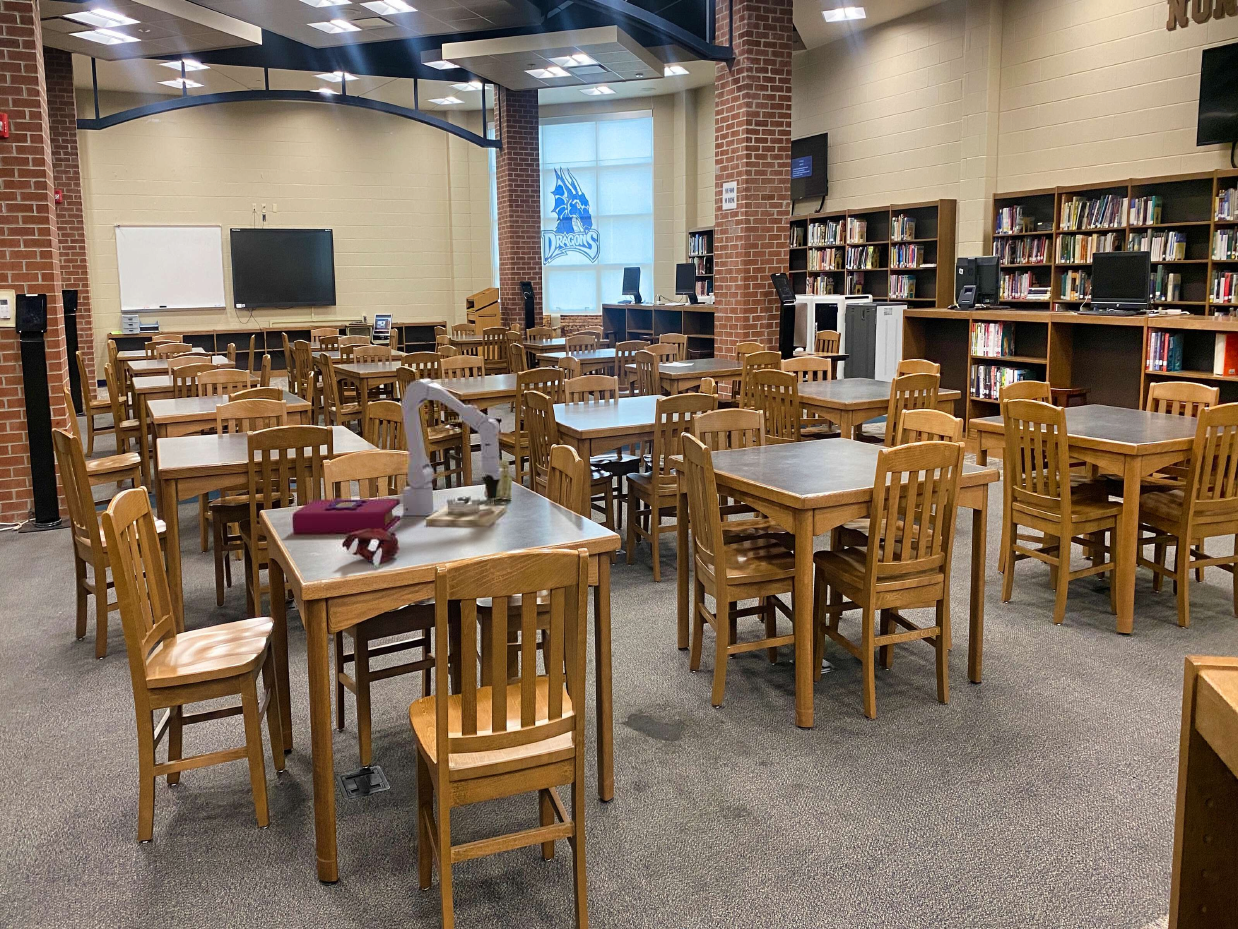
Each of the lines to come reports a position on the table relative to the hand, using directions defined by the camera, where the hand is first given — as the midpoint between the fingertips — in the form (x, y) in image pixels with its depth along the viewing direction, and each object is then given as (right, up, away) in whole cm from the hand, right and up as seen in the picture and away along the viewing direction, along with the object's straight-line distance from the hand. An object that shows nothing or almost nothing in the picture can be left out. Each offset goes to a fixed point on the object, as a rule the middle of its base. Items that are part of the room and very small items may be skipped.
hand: (492, 498), depth 316 cm
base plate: (-8, -6, -4) cm, 11 cm away
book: (-43, -9, -13) cm, 46 cm away
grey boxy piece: (-6, -4, -2) cm, 8 cm away
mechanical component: (0, -2, +23) cm, 23 cm away
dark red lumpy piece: (-26, -15, -53) cm, 61 cm away
